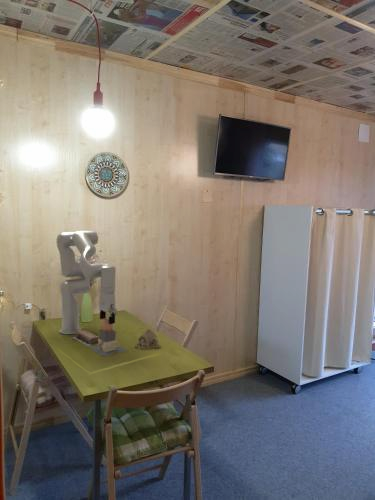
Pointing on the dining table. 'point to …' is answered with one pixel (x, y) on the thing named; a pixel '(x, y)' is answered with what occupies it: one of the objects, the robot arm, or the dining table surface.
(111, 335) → the charcoal block
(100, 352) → the slate mat
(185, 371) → the dining table surface
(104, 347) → the birch block
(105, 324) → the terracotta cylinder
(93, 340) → the packaged product
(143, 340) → the stuffed bread roll
